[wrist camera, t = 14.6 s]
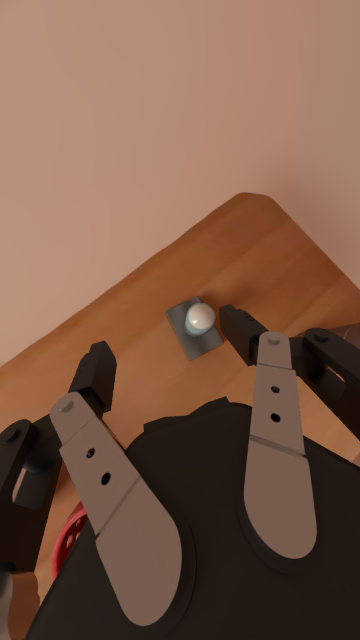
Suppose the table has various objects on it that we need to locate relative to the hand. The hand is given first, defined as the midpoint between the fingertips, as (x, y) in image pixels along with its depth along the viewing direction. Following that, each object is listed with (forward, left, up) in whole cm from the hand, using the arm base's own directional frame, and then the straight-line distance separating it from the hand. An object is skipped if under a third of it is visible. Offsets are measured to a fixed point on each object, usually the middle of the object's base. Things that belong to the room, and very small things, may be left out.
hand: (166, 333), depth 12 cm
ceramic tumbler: (-7, -3, -27) cm, 28 cm away
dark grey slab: (-7, -3, -31) cm, 32 cm away
